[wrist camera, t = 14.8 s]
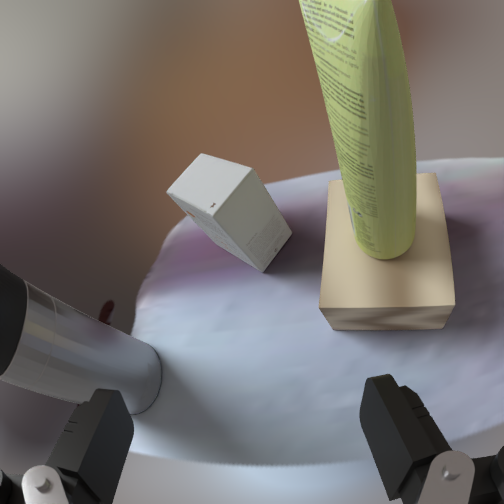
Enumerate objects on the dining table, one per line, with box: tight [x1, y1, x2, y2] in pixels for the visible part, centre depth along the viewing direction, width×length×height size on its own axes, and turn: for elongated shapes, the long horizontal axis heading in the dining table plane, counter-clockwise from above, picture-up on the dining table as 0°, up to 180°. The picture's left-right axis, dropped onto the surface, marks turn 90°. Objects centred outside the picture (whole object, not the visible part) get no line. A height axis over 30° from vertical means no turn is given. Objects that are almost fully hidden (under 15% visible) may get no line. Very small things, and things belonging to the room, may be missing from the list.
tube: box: [299, 0, 417, 259], centre depth 15 cm, size 6×5×20 cm
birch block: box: [319, 173, 455, 330], centre depth 25 cm, size 10×12×6 cm
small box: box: [167, 153, 292, 273], centre depth 31 cm, size 8×6×10 cm
